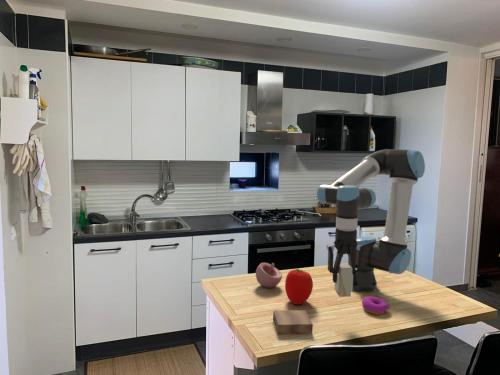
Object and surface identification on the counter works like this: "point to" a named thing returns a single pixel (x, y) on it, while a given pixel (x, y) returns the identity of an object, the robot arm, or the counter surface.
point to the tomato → (298, 286)
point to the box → (345, 280)
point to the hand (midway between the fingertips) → (343, 290)
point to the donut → (375, 305)
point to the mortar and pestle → (268, 275)
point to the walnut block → (292, 322)
